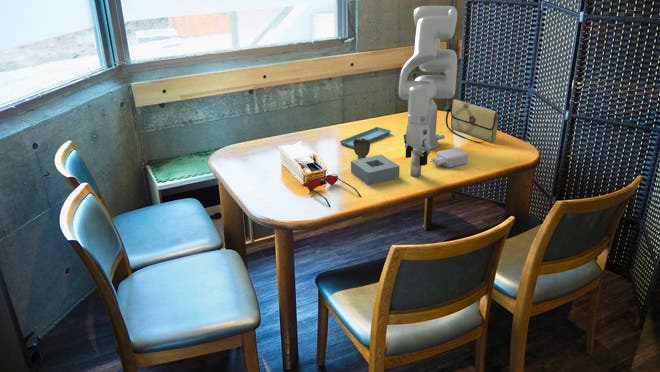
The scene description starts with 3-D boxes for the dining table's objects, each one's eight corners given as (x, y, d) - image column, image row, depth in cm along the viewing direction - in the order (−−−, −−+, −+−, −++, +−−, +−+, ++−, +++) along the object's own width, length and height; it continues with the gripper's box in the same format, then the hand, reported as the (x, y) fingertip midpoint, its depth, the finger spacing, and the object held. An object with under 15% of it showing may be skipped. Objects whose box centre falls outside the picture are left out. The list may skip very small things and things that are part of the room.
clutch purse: (441, 130, 265) (443, 100, 258) (451, 127, 268) (453, 97, 262) (489, 147, 242) (492, 115, 236) (500, 144, 245) (503, 112, 239)
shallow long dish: (353, 150, 245) (353, 145, 244) (339, 145, 251) (339, 140, 250) (391, 135, 261) (391, 130, 260) (377, 131, 267) (377, 126, 266)
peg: (417, 172, 219) (418, 149, 215) (422, 175, 216) (423, 152, 212) (408, 174, 218) (409, 150, 213) (414, 177, 214) (415, 154, 210)
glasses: (337, 183, 213) (336, 171, 211) (361, 198, 200) (361, 185, 198) (306, 192, 206) (305, 180, 204) (329, 208, 193) (329, 195, 191)
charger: (424, 164, 227) (453, 157, 233) (437, 171, 220) (467, 164, 226) (424, 153, 225) (454, 146, 231) (438, 160, 218) (468, 153, 224)
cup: (369, 162, 230) (369, 144, 227) (351, 161, 232) (351, 143, 228) (371, 155, 237) (371, 138, 234) (354, 154, 238) (354, 137, 235)
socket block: (381, 165, 226) (381, 154, 224) (399, 177, 215) (399, 165, 213) (350, 172, 221) (350, 160, 219) (367, 184, 209) (367, 172, 207)
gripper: (439, 123, 201) (437, 166, 208) (413, 112, 215) (411, 152, 222) (422, 126, 198) (420, 170, 205) (397, 114, 213) (396, 156, 219)
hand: (416, 161), depth 214 cm, fingers open, 9 cm apart
